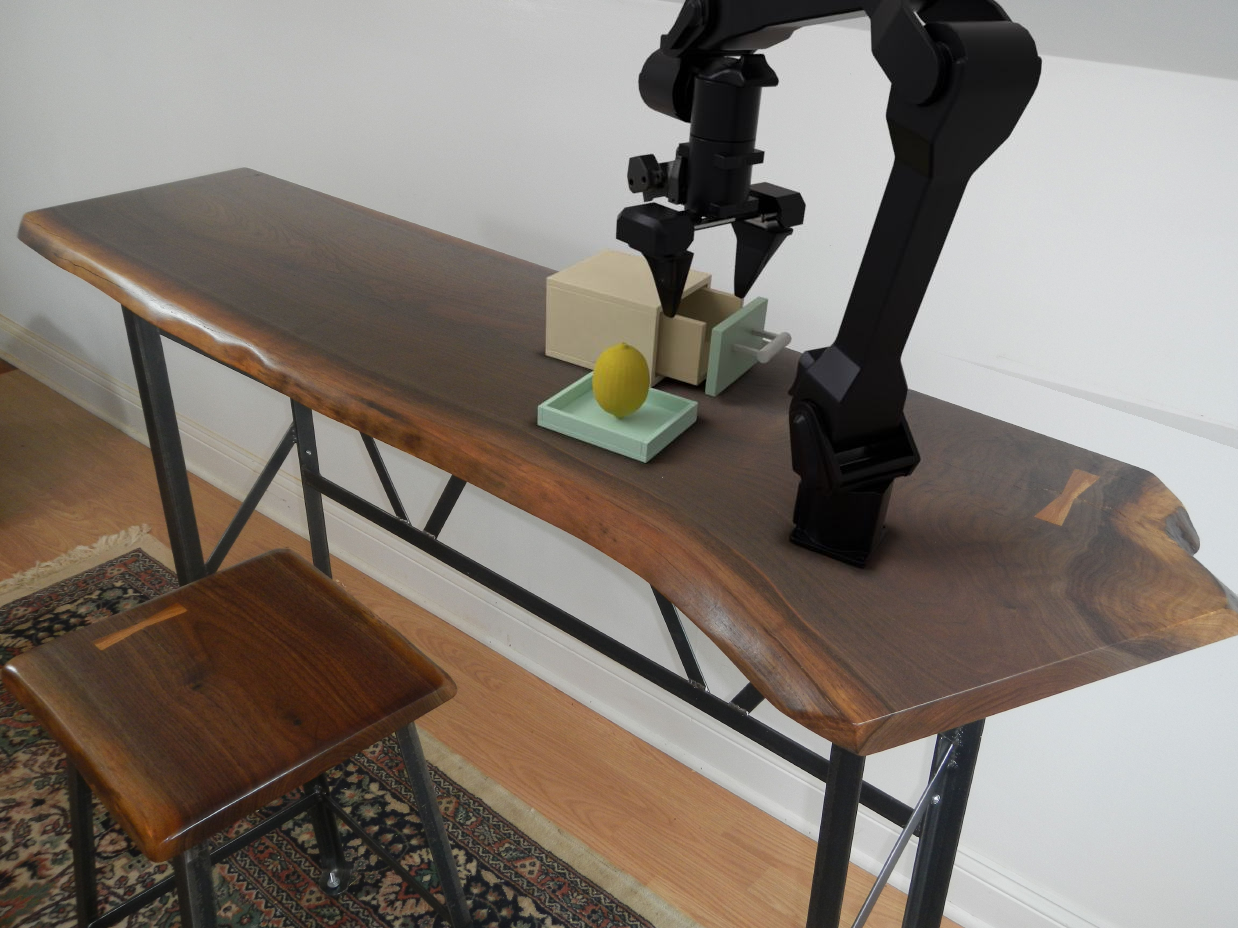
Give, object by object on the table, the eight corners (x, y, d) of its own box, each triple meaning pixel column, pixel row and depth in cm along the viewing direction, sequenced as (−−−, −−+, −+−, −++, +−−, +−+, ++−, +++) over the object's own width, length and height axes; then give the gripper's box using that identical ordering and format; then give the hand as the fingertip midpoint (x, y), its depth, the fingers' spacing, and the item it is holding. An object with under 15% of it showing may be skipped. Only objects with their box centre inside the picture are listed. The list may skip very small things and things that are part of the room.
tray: (696, 421, 95) (698, 402, 94) (646, 463, 88) (647, 443, 87) (593, 387, 101) (594, 369, 100) (537, 425, 93) (537, 406, 92)
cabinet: (704, 349, 111) (712, 274, 106) (650, 388, 101) (657, 307, 97) (604, 321, 116) (608, 248, 112) (545, 355, 107) (546, 277, 102)
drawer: (794, 370, 105) (805, 307, 101) (752, 408, 96) (761, 342, 93) (662, 332, 112) (667, 273, 108) (611, 365, 103) (614, 302, 100)
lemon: (647, 433, 92) (653, 357, 87) (589, 430, 91) (592, 353, 87) (646, 406, 96) (652, 333, 92) (592, 403, 96) (595, 329, 92)
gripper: (731, 109, 92) (715, 265, 100) (579, 127, 82) (574, 299, 90) (820, 132, 85) (795, 297, 93) (666, 154, 75) (652, 339, 83)
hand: (705, 306), depth 90 cm, fingers open, 9 cm apart
